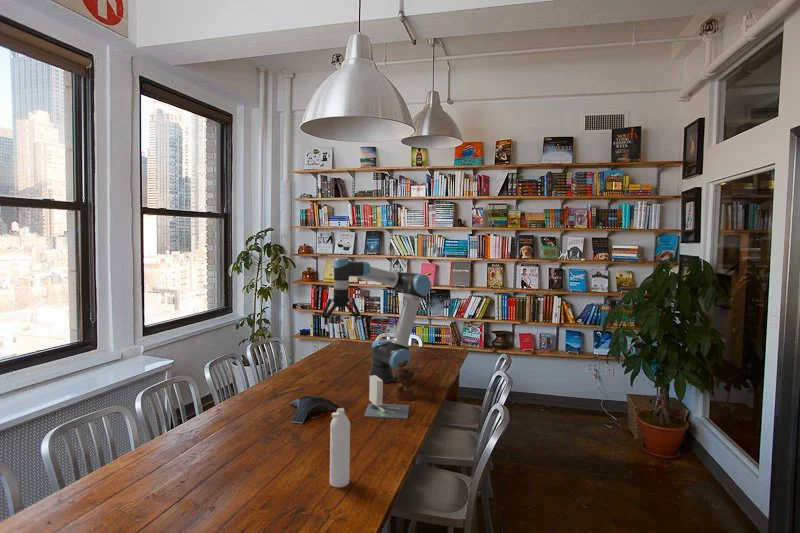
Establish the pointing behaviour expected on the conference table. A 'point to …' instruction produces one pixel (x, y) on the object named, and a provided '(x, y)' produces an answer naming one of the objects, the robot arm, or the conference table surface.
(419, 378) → the conference table surface
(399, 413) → the dial board
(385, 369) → the robot arm
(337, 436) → the water bottle
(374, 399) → the white flat block
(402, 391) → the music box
